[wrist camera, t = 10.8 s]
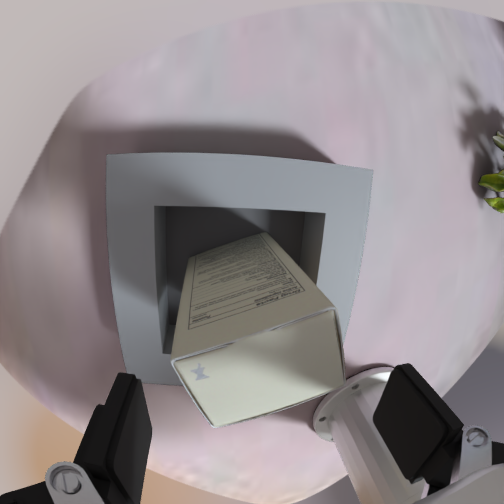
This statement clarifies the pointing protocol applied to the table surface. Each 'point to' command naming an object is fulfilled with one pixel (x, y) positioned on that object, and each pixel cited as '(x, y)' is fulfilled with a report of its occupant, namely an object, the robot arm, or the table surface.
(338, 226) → the socket block
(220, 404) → the skincare box
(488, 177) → the passion flower
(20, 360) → the table surface
